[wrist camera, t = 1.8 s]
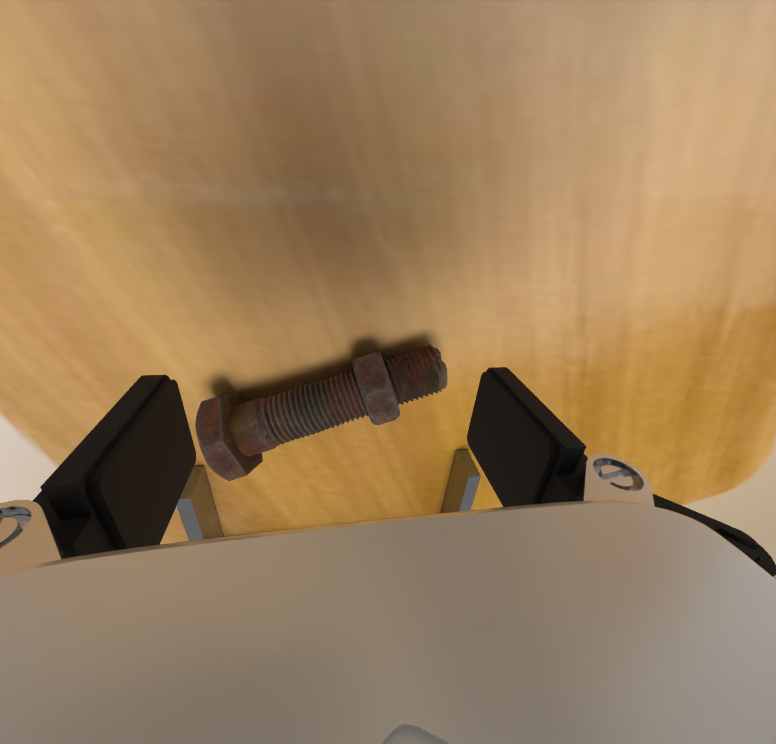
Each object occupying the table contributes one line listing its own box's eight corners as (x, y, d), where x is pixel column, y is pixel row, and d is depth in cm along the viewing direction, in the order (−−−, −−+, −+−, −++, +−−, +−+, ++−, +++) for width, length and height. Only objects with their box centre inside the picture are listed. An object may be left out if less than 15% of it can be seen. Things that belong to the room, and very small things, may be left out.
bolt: (427, 349, 26) (236, 411, 25) (426, 309, 21) (193, 382, 21) (456, 419, 23) (243, 489, 22) (462, 388, 18) (196, 475, 18)
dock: (189, 466, 25) (174, 499, 23) (467, 449, 29) (480, 476, 26) (213, 546, 30) (204, 580, 28) (447, 522, 34) (457, 551, 32)
